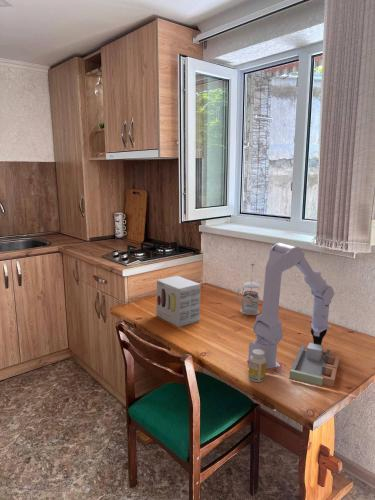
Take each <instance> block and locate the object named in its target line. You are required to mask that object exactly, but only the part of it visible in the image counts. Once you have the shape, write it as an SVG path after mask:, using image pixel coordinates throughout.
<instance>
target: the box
mask: <svg viewBox="0 0 375 500" xmlns="http://www.w3.org/2000/svg"><path fill="white" fill-rule="evenodd" d="M306 356H307V350H306V344H301V346H300V349H299V351H298V353H297V355H296V357H295V359H294V361H293V364H292V365H291V368H290V369H289V380H292V381H296V382H300V383H304V384H308V385H312V386H315V387H319V388H323V385H324V386H328V387H332V388H334V386H335V381H336V378H337V377H336V376H337V373H338V368H339V361H340V357H339V356H335V355H331V349H326V352H325V354H323V353H322V358H321V361H318V360H314V359H309V358H306ZM322 374H323V375H322Z"/></svg>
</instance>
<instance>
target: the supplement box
mask: <svg viewBox="0 0 375 500" xmlns="http://www.w3.org/2000/svg"><path fill="white" fill-rule="evenodd" d="M201 285H202V284H201V283H199V282H196V281H194V280H191V279H189V278H188V279H187V278H184V277H183V276H179V275H176V276H175V275H174V276H170V277H166V278H161V279H157V280H156V315H155V316H157V317H159V318H160V319H162V320H163V321H166V322H167V323H170V324H172V325H173V326H175V327H177V328H180V327H183V326H184V327H185V326H187V325H191V324H194V323H196V322H200V321H201V320H200V317H201V316H200V315H201V288H202V287H201Z"/></svg>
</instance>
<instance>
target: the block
mask: <svg viewBox="0 0 375 500" xmlns="http://www.w3.org/2000/svg"><path fill="white" fill-rule="evenodd" d="M323 350H324V345H322V344H321V345H318V344H314V342H309V343H308V346H307V349H306V351H307V356H306V358H309V359H314V360H318V361H321V358H322V354H323V352H324V351H323Z"/></svg>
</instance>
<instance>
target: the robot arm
mask: <svg viewBox="0 0 375 500" xmlns="http://www.w3.org/2000/svg"><path fill="white" fill-rule="evenodd" d="M294 266H296V268H297V269H298V270H299V271H300V272H301V273H302V274H303V275H304V278H303V279H304V281H305V283H306V284H307V285H308V287H309V289H310V293H311V295H313V297H314V298H313V306H312V318H311V323H310V326H311V328H310V334H311V335H312V340H313V344H318V345H322V343H323V340H324V337H325V336H326V335H327V331H328V330H330V329H331V327H332V326H331V325H328V322H329V313H330V305H331V303H332V300H333V298H334V296H335V291H334V289H333V287H332V286H331V285H329V284H327V281H326V279H324V278H323V276H322V275H321V274H322V273H321V271H318V270H315V269H314V270H313V268H312V266H311V265H310V263H309V262H308V260H307V258H306V257H305V252H304V251H303V250H302V248H300V247H299V246H295V245H294V246H293V245H290V244H286V243H283V242H277V243H275V244H274V245H273V246H272V247H270V249H269V257H268V259H267V262H266V265H265V274H264V287H263V294H262V295H263V297H262V307H261V308H262V309H261V314H260V313H259V314H257V316H256V318H255V322H254V324H253V328H252V329H253V333H254V334H255V338H256V339H255V340H254V341H251V342H250V343H249V345H248V346H249V347H248V358H247V359H246V360H247V362H248V363H250V357H251V356H252V351H253V350H254V349H260V350H263V351H264V352H265V356H264V357H265V359H266V368H265V370H266V369H270V368H277V367H281V366H282V365H280V364H279V363H278V362H277V352H278V345H279V344H280V342H281V340H282V339H283V337H284V335H283V334H284V333H283V328H282V321H281V320H280V318H279V316H278V315H279V305H280V296H281V294H280V293H281V283H282V274H283V272H285V271H287V270H289V269H291V268H293V267H294Z"/></svg>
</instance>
